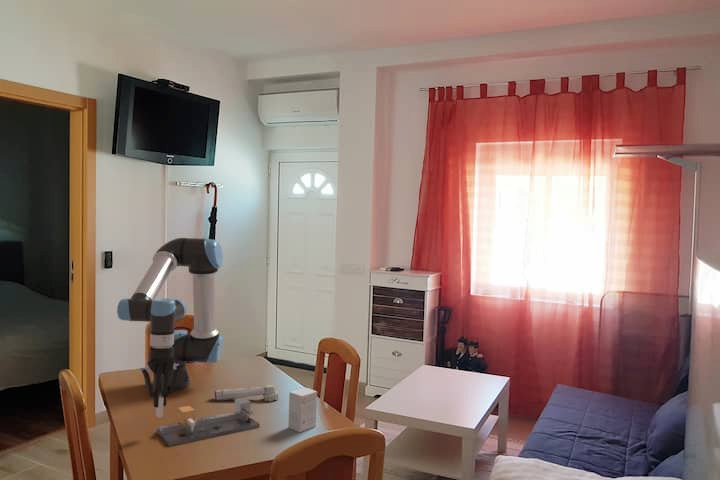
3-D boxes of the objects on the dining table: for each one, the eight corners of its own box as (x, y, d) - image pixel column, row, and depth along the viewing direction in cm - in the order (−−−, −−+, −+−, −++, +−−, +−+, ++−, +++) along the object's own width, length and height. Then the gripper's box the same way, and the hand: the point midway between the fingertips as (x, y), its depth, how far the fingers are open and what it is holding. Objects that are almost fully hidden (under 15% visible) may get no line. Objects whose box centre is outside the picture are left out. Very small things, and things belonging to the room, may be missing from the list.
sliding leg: (177, 424, 192) (178, 407, 192) (188, 422, 195) (189, 405, 194) (187, 433, 185) (187, 416, 184) (198, 431, 187) (199, 414, 187)
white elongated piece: (215, 388, 226) (277, 380, 229) (217, 404, 226) (279, 396, 230) (213, 392, 221) (277, 384, 224) (215, 409, 221) (279, 400, 224)
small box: (303, 421, 204) (305, 386, 204) (316, 426, 200) (317, 391, 200) (287, 427, 198) (289, 391, 198) (299, 432, 194) (301, 396, 194)
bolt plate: (156, 432, 188) (156, 412, 188) (243, 415, 208) (244, 397, 207) (168, 446, 178) (169, 425, 178) (259, 427, 197) (260, 408, 197)
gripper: (145, 350, 178) (142, 423, 179) (185, 346, 186) (182, 416, 186) (138, 345, 184) (135, 416, 184) (177, 341, 192) (175, 409, 192)
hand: (159, 416), depth 185 cm, fingers closed
